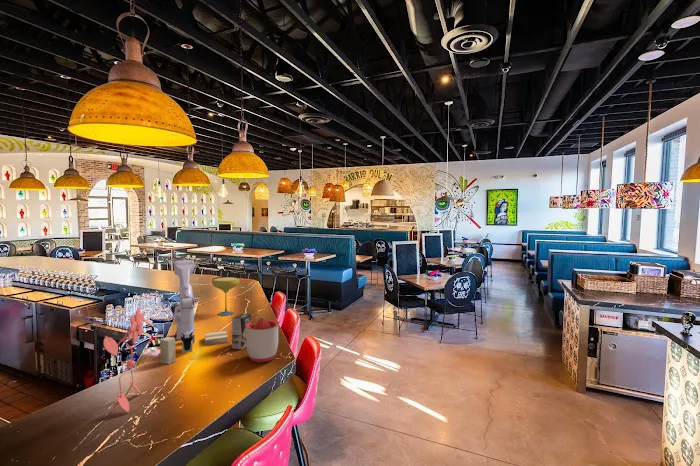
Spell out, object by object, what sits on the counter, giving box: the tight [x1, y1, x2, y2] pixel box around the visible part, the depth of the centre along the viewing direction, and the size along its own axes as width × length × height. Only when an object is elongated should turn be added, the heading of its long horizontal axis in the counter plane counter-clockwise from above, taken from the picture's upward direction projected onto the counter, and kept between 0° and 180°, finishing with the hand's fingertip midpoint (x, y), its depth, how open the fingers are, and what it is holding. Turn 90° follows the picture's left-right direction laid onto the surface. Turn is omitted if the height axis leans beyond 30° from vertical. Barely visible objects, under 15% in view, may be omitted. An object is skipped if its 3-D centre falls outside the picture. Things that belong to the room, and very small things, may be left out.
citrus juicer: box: [246, 317, 280, 364], centre depth 163 cm, size 16×17×20 cm
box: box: [159, 336, 177, 365], centre depth 157 cm, size 5×4×11 cm
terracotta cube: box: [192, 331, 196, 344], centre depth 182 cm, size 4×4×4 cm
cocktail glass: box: [211, 275, 240, 317], centre depth 234 cm, size 18×18×25 cm
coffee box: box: [231, 313, 252, 350], centre depth 177 cm, size 9×6×16 cm
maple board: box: [204, 330, 228, 346], centre depth 184 cm, size 11×11×3 cm
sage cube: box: [181, 341, 193, 354], centre depth 170 cm, size 4×4×4 cm
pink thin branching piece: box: [103, 307, 153, 413], centre depth 122 cm, size 15×26×35 cm, turn 11°
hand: (187, 347), depth 170 cm, fingers open, 7 cm apart
